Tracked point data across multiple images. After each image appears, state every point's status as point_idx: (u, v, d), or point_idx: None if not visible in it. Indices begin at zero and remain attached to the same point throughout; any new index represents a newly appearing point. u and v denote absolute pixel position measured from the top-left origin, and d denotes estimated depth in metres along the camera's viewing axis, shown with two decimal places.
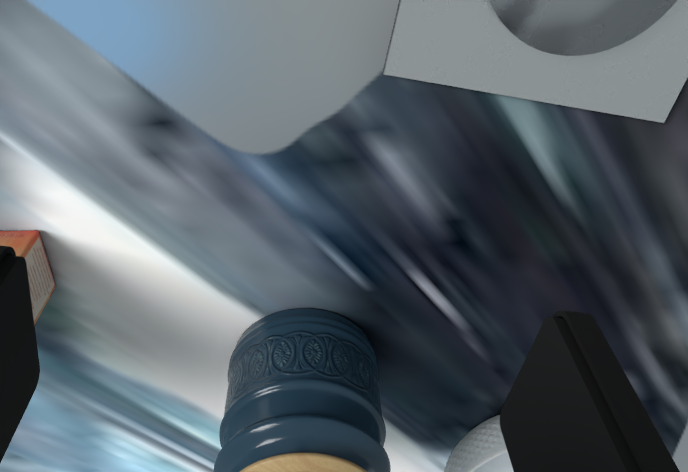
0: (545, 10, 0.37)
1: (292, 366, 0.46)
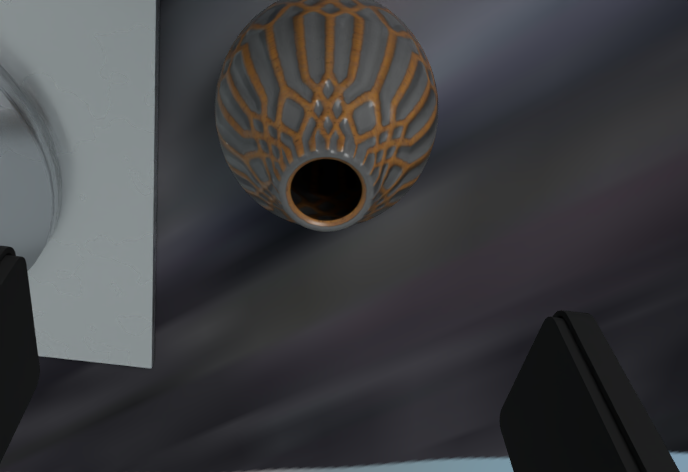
0: None
1: None
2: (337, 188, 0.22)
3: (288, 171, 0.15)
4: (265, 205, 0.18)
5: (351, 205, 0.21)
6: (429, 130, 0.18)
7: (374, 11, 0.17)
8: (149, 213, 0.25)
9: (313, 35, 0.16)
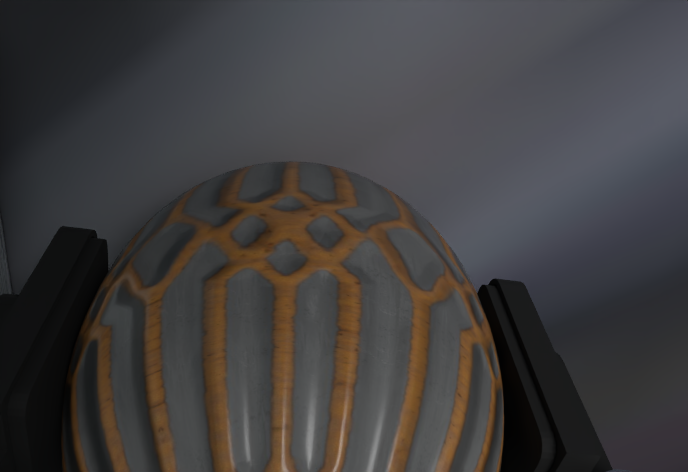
0: None
1: None
2: None
3: None
4: None
5: None
6: None
7: (380, 248, 0.08)
8: None
9: (246, 347, 0.07)
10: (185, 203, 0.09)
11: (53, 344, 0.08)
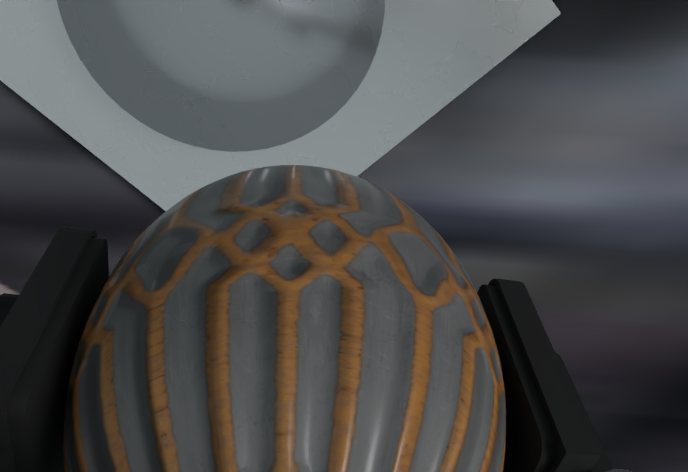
0: None
1: None
2: None
3: None
4: None
5: None
6: None
7: (383, 252, 0.08)
8: (364, 165, 0.30)
9: (250, 352, 0.07)
10: (187, 207, 0.09)
11: (53, 344, 0.08)
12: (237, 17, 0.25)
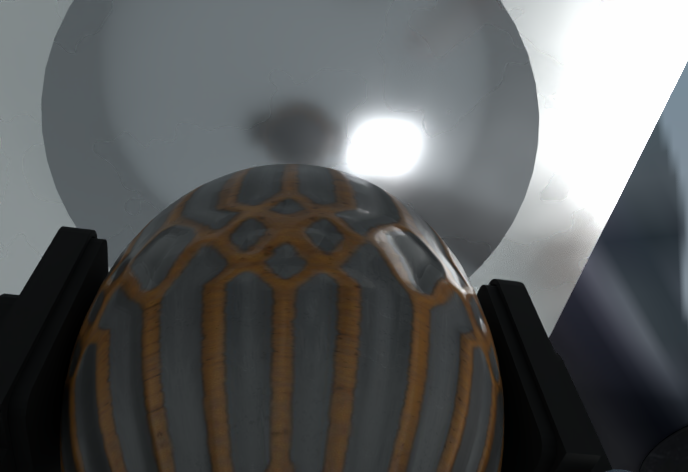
0: (384, 23, 0.15)
1: None
2: None
3: None
4: None
5: None
6: None
7: (380, 251, 0.08)
8: None
9: (246, 352, 0.07)
10: (184, 206, 0.09)
11: (53, 344, 0.08)
12: None
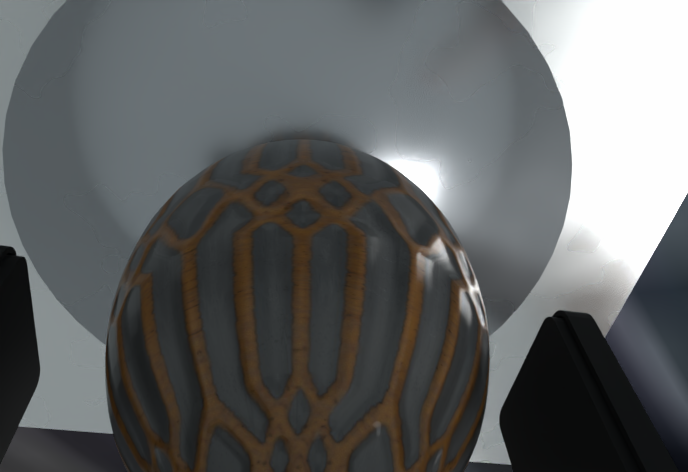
0: (397, 64, 0.13)
1: None
2: None
3: None
4: None
5: None
6: (482, 414, 0.10)
7: (383, 208, 0.10)
8: None
9: (271, 285, 0.08)
10: (212, 172, 0.11)
11: None
12: None
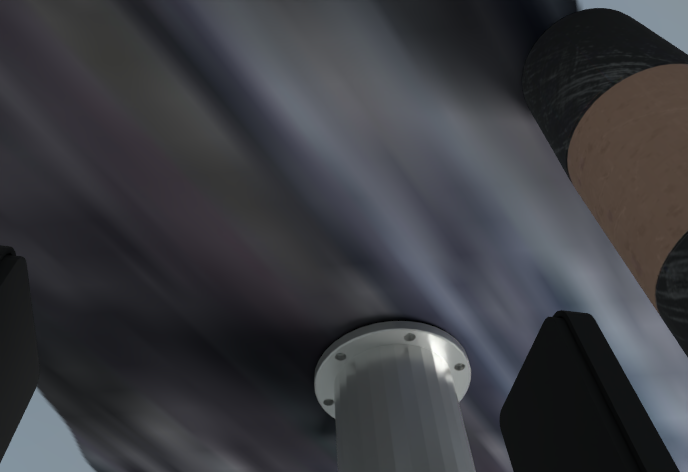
0: None
1: None
2: None
3: None
4: None
5: None
6: None
7: None
8: None
9: None
10: None
11: None
12: None
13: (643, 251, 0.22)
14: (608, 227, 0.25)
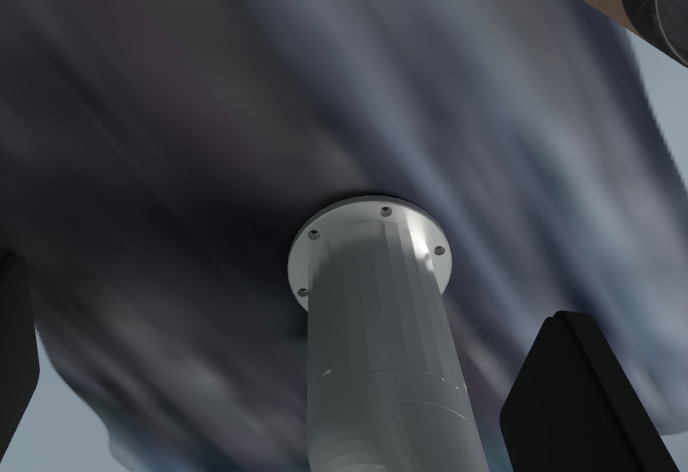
0: None
1: None
2: None
3: None
4: None
5: None
6: None
7: None
8: None
9: None
10: None
11: None
12: None
13: None
14: None
